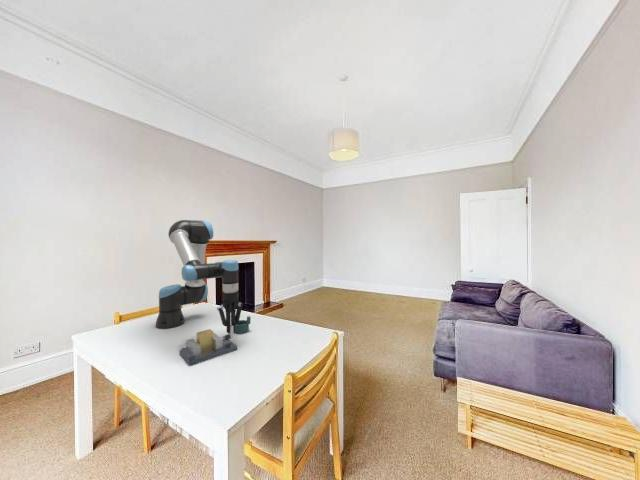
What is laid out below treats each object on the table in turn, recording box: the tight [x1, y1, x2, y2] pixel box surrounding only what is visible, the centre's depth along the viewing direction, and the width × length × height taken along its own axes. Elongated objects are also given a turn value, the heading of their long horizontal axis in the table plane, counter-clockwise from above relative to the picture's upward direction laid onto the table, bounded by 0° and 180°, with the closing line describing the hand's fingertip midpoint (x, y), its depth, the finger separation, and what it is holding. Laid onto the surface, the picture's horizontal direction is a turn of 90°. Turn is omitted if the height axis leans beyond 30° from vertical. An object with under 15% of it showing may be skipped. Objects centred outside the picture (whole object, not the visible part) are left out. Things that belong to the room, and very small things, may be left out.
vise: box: [179, 338, 238, 367], centre depth 116 cm, size 14×21×6 cm, turn 135°
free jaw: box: [213, 332, 231, 350], centre depth 119 cm, size 10×9×4 cm
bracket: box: [233, 315, 251, 335], centre depth 141 cm, size 9×9×9 cm
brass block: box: [196, 328, 214, 352], centre depth 114 cm, size 4×6×8 cm, turn 135°
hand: (230, 338), depth 123 cm, fingers closed
